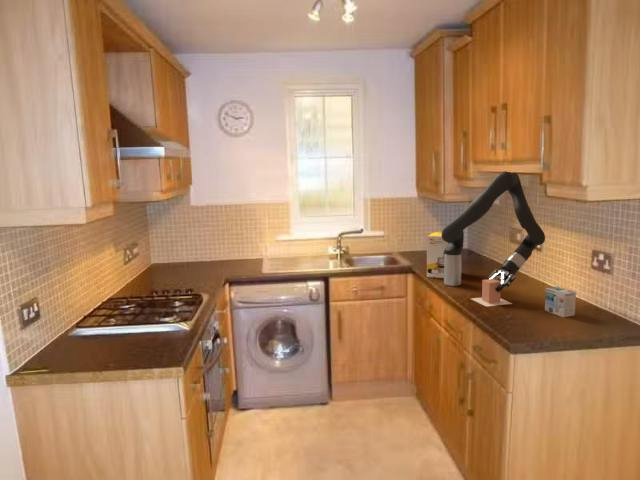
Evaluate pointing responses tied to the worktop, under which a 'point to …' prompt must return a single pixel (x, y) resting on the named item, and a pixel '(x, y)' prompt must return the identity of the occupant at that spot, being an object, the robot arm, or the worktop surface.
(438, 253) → the packaging box
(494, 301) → the terracotta block
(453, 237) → the robot arm
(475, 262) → the worktop surface
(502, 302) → the cream square pad
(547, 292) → the light bulb box
